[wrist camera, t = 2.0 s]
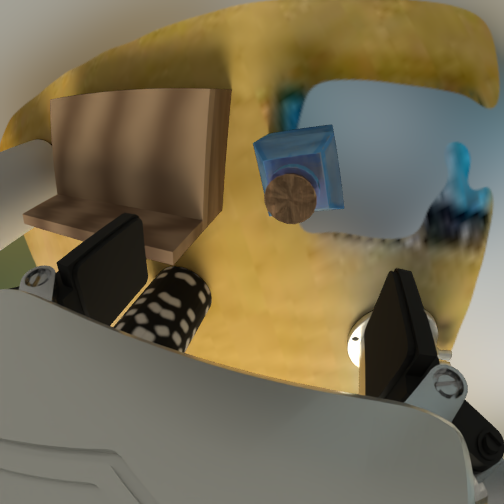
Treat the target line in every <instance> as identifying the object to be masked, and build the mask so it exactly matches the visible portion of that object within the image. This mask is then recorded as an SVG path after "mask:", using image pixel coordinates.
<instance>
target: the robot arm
mask: <svg viewBox="0 0 504 504" xmlns="http://www.w3.org/2000/svg"><path fill="white" fill-rule="evenodd" d="M57 266H58V269H59V271H58V272H57V273H56V272H55V270H54V269H53V268H52V267H50V266H39V267H35V268H33V269H31V270H29V271H28V272H27V273H26V274H25V275H24V276H23V278H22V280H21V283H20V286H19V287H15V288H11V289H1V290H0V504H504V459H503V458H502V457H503V453H504V440H503V438H502V436H501V434H500V433H499V431H498V430H497V429H496V428H495V427H494V426H493V425H492V424H491V423H490V422H488V421H487V420H486V419H485V418H484V417H483V416H482V415H481V414H480V413H479V412H478V411H477V410H475V409H474V408H473V407H472V406H471V405H470V404H469V403H468V402H467V401H466V400H465V398H466V395H467V392H468V386H467V383H466V380H465V378H464V377H463V375H462V374H461V373H460V372H459V371H458V370H457V369H455V368H454V367H452V366H451V364H450V362H447V361H439V359H441V360H450V359H451V357H452V351H449V350H439V348H438V347H437V345H436V344H437V340H438V329H437V325H436V322H435V320H434V318H433V317H432V315H431V314H430V313H429V312H427V311H426V310H425V309H424V308H423V305H422V302H421V298H420V295H419V292H418V289H417V286H416V283H415V280H414V277H413V275H412V272H411V271H407V270H403V269H398V268H396V269H395V270H394V272H393V271H390V272H389V273H388V276H387V278H386V281H385V283H384V286H383V288H382V291H381V293H380V296H379V298H378V300H377V303H376V305H375V307H374V310H373V311H371V312H370V313H368V314H366V315H365V316H363V317H362V318H361V319H360V320H359V321H358V322H357V323H356V324H355V325H354V326H353V328H352V329H351V331H350V333H349V336H348V340H347V350H348V355H349V357H350V359H351V361H352V362H353V363H354V364H355V365H356V366H357V367H359V394H353V393H347V392H341V391H336V390H330V389H325V388H320V387H315V386H310V385H305V384H300V383H295V382H290V381H286V380H281V379H277V378H273V377H268V376H264V375H260V374H256V373H252V372H248V371H245V370H241V369H237V368H233V367H230V366H226V365H222V364H219V363H215V362H212V361H209V360H205V359H202V358H199V357H195V356H192V355H189V354H186V353H183V352H180V351H177V350H174V349H171V348H168V347H165V346H162V345H159V344H156V343H153V342H150V341H148V340H145V339H142V338H139V337H137V336H134V335H131V334H129V333H126V332H123V331H121V330H118V329H116V328H113V327H111V326H110V325H111V324H112V323H113V322H114V320H115V319H116V318H117V317H118V316H119V314H120V313H121V312H122V311H123V310H124V308H125V307H126V306H127V305H128V304H129V303H130V301H131V300H132V299H133V298H134V297H135V296H136V294H137V293H138V292H139V291H140V290H141V289H142V288H143V286H144V285H145V284H146V282H147V279H148V272H147V263H146V254H145V244H144V233H143V223H142V220H141V219H140V218H139V216H138V215H136V214H131V213H123V214H121V215H120V216H118V217H117V218H115V219H114V220H113V221H111V222H110V223H108V224H107V225H106V226H104V227H103V228H101V229H100V230H99V231H97V232H96V233H95V234H93V235H92V236H90V237H89V238H88V239H86V240H85V241H84V242H82V243H81V244H80V245H78V246H77V247H76V248H75V249H73V250H72V251H71V252H69V253H68V254H67V255H66V256H64V257H63V258H62V259H61V260H59V261H58V262H57Z"/></svg>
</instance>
